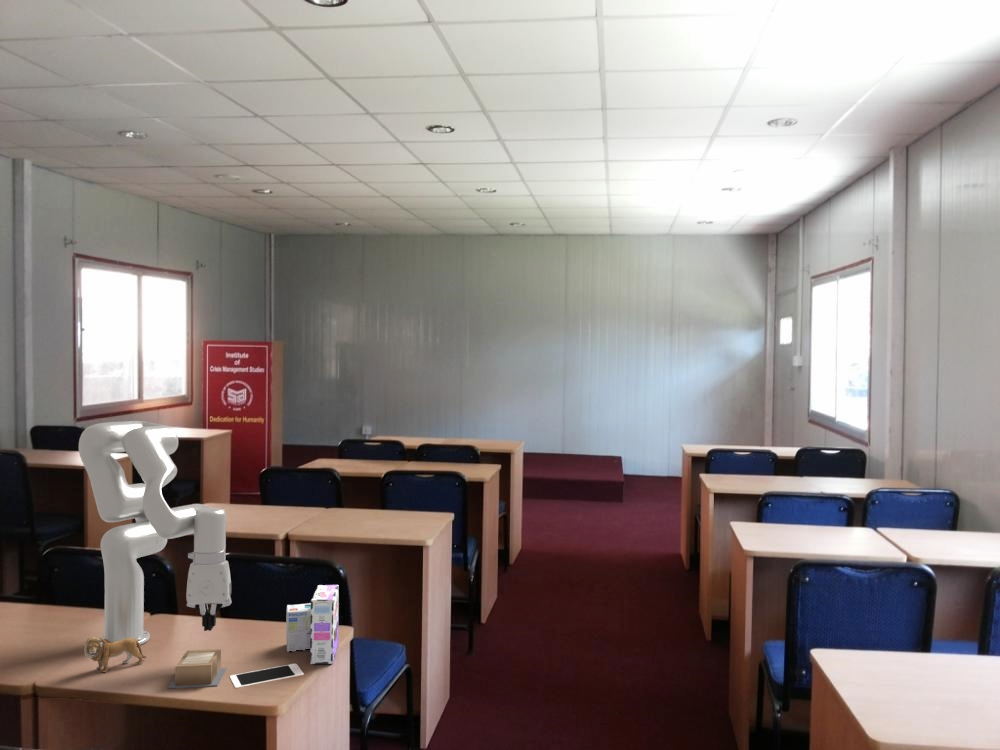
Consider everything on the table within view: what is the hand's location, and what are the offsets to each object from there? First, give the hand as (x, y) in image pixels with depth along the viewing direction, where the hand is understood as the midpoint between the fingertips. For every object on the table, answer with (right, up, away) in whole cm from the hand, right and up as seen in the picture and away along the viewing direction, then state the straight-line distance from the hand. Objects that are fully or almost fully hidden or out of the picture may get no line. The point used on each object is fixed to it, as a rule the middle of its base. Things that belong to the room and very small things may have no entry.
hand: (208, 628), depth 189 cm
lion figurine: (-21, -8, -5) cm, 23 cm away
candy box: (+28, -8, +4) cm, 30 cm away
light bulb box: (+22, -8, +10) cm, 26 cm away
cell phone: (+18, -9, -9) cm, 22 cm away
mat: (+2, -8, -11) cm, 14 cm away
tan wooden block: (+1, -6, -6) cm, 8 cm away
